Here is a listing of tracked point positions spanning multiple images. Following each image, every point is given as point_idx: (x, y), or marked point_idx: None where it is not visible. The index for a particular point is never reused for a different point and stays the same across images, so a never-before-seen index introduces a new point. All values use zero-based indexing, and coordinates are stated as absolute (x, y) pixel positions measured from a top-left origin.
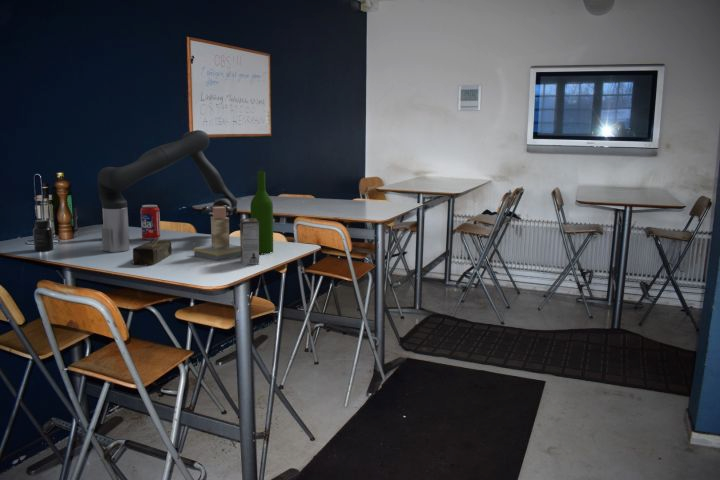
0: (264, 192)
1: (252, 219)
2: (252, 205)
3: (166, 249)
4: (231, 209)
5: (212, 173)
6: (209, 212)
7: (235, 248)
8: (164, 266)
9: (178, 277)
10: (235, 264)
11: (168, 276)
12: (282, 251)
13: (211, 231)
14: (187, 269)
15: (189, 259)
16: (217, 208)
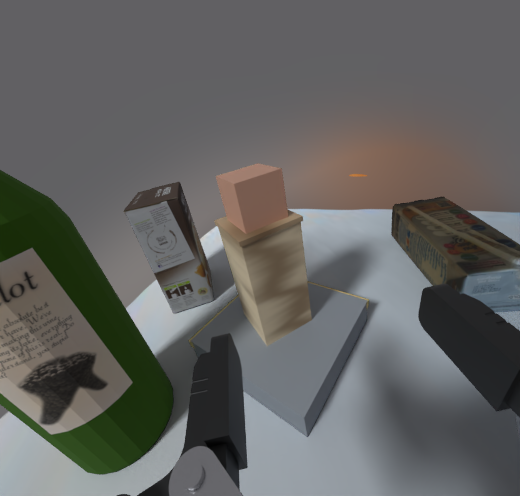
0: None
1: (143, 199)
2: (67, 216)
3: (434, 264)
4: (192, 456)
5: None
6: (488, 386)
7: (224, 317)
8: (360, 235)
9: (298, 212)
10: (225, 270)
11: (314, 211)
12: (43, 441)
13: (304, 270)
14: (305, 233)
15: (347, 280)
16: (250, 166)
